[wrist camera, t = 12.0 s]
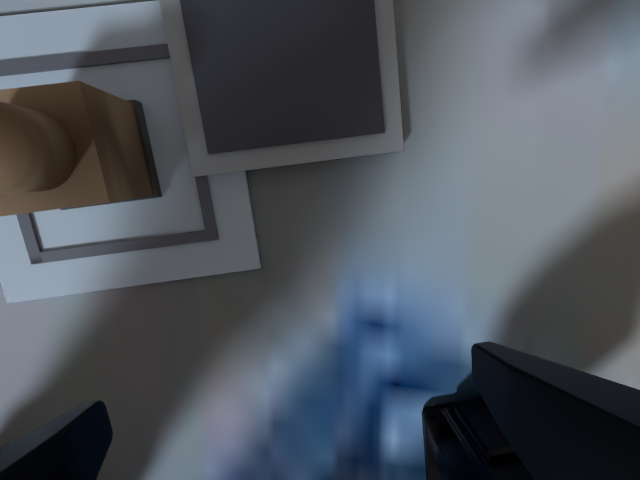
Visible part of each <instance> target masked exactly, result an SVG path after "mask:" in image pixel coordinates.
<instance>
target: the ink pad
mask: <svg viewBox="0 0 640 480" xmlns="http://www.w3.org/2000/svg"><path fill="white" fill-rule="evenodd" d="M159 2H160V7H161V13H162V18H163V23H164V28H165V33H166V38H167V43H168V49H169V54H170V59H171V64H172V69H173V74H174V79H175V85H176V90H177V95H178V100H179V105H180V110H181V116H182V121H183V126H184V131H185V136H186V141H187V146H188V152H189V157H190V162H191V167H192V172H193V177H198V176H206V175H214V174H222V173H230V172H238V171H248V170H256V169H264V168H272V167H280V166H288V165H296V164H304V163H312V162H320V161H328V160H336V159H344V158H352V157H360V156H368V155H376V154H384V153H392V152H399V151H404V144H403V130H402V116H401V102H400V88H399V74H398V61H397V47H396V33H395V19H394V5H393V0H159Z"/></svg>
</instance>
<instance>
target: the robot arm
mask: <svg viewBox="0 0 640 480" xmlns="http://www.w3.org/2000/svg"><path fill="white" fill-rule="evenodd" d="M471 354H472V376H473V380H474V382H475V385H476V386H477V388H478V390H479V392H480V394H481V395H482V397H483V398H478V399H471V400H465V401H459V402H452V403H446V404H440V405H434V406H428V407H426V408H424V409H423V411H422V422H423V436H424V450H425V464H426V478H427V480H640V390H638V389H635V388H632V387H629V386H626V385H623V384H619V383H616V382H613V381H610V380H607V379H604V378H601V377H598V376H595V375H592V374H588V373H585V372H582V371H579V370H576V369H573V368H570V367H567V366H564V365H561V364H557V363H554V362H551V361H548V360H545V359H542V358H539V357H536V356H533V355H530V354H526V353H523V352H520V351H517V350H514V349H511V348H508V347H505V346H502V345H499V344H495V343H492V342H482V343H476V344H474V345H473V346H472V349H471ZM430 414H433V415H432V416H429V415H430ZM112 436H113V431H112V426H111V423H110V419H109V416H108V412H107V409H106V405H105V404H104V402H102V401H91V402H85V403H82V404H80V405H78V406H76V407H75V408H73V409H71V410H69V411H68V412H66V413H64V414H62V415H61V416H59V417H57V418H55V419H53V420H52V421H50V422H48V423H46V424H45V425H43V426H41V427H39V428H38V429H36V430H34V431H32V432H30V433H29V434H27V435H25V436H23V437H22V438H20V439H18V440H16V441H15V442H13V443H11V444H9V445H7V446H6V447H4V448H2V449H0V480H96V478H97V476H98V473H99V471H100V469H101V466H102V464H103V461H104V459H105V456H106V454H107V451H108V449H109V446H110V444H111V441H112Z"/></svg>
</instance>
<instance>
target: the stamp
mask: <svg viewBox="0 0 640 480" xmlns="http://www.w3.org/2000/svg"><path fill="white" fill-rule="evenodd" d="M158 197H162V194H161V189H160V184H159V180H158V175H157V171H156V166H155V161H154V157H153V152H152V148H151V143H150V138H149V134H148V129H147V125H146V120H145V115H144V111H143V106H142V103H141V102H139V101H137V100H135V99H134V100H124V99H121V98H119V97H117V96H114V95H112V94H110V93H107V92H105V91H102V90H100V89H98V88H95V87H93V86H91V85H88V84H86V83H84V82H81V81H72V82H63V83H54V84H46V85H37V86H28V87H19V88H10V89H2V90H0V217H1V216H8V215H16V214H24V213H32V212H39V211H47V210H55V209H61V210H67V209H74V208H82V207H90V206H98V205H105V204H113V203H121V202H128V201H136V200H144V199H152V198H158Z"/></svg>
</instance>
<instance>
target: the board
mask: <svg viewBox="0 0 640 480" xmlns="http://www.w3.org/2000/svg"><path fill="white" fill-rule="evenodd" d="M72 81H81V82H84V83H86V84H88V85H91V86H93V87H95V88H98V89H100V90H102V91H105V92H107V93H110V94H112V95H114V96H117V97H119V98H121V99H124V100H134V99H135V100H137V101H139V102H141V103H142V106H143V111H144V115H145V120H146V125H147V129H148V134H149V138H150V143H151V148H152V152H153V157H154V161H155V166H156V171H157V175H158V180H159V184H160V189H161V194H162V197H158V198H152V199H144V200H136V201H128V202H121V203H113V204H105V205H98V206H90V207H82V208H74V209H67V210H61V209H55V210H47V211H39V212H32V213H24V214H16V215H8V216H1V217H0V283H1V286H2V289H3V292H4V295H5V298H6V301H7V303H14V302H21V301H28V300H36V299H43V298H50V297H57V296H65V295H72V294H79V293H86V292H94V291H101V290H108V289H115V288H123V287H130V286H137V285H144V284H152V283H159V282H166V281H173V280H181V279H188V278H195V277H203V276H210V275H217V274H224V273H232V272H239V271H246V270H253V269H261V262H260V256H259V250H258V244H257V238H256V232H255V225H254V219H253V213H252V207H251V201H250V195H249V189H248V183H247V176H246V171H238V172H230V173H222V174H214V175H206V176H198V177H193V172H192V167H191V162H190V157H189V152H188V146H187V141H186V136H185V131H184V126H183V121H182V116H181V110H180V105H179V100H178V95H177V90H176V85H175V79H174V74H173V69H172V64H171V59H170V54H169V49H168V43H167V38H166V33H165V28H164V23H163V18H162V13H161V7H160V2H159V0H156V1H146V2H136V3H126V4H117V5H107V6H97V7H87V8H77V9H67V10H58V11H48V12H38V13H28V14H18V15H9V16H0V90H2V89H10V88H19V87H28V86H37V85H46V84H54V83H63V82H72Z"/></svg>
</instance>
